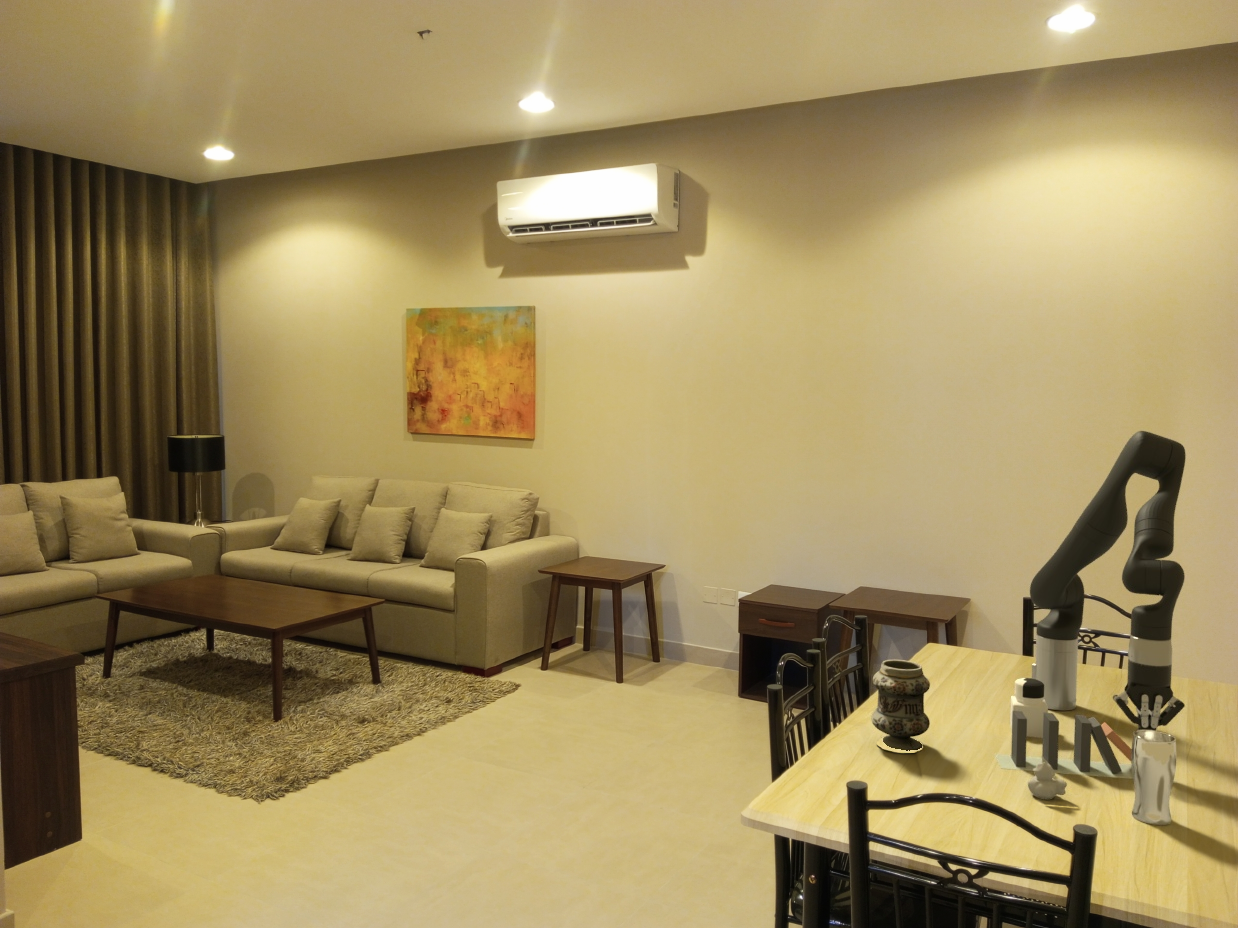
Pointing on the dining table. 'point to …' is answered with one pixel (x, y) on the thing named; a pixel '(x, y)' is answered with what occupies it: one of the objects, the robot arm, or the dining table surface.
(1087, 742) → the domino
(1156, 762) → the beer glass
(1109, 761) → the domino
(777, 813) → the dining table surface
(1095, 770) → the mat
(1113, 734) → the domino
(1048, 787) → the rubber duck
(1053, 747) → the domino
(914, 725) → the apothecary jar
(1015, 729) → the domino
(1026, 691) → the medicine bottle
